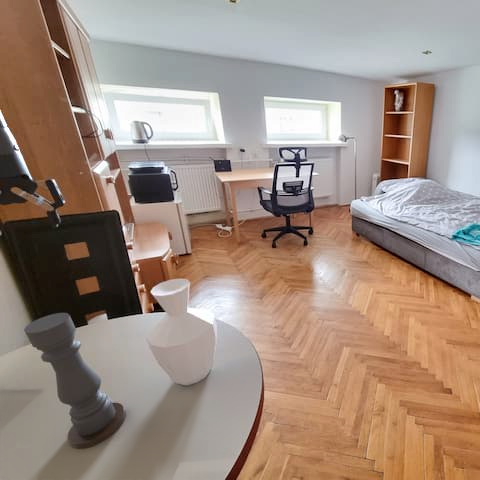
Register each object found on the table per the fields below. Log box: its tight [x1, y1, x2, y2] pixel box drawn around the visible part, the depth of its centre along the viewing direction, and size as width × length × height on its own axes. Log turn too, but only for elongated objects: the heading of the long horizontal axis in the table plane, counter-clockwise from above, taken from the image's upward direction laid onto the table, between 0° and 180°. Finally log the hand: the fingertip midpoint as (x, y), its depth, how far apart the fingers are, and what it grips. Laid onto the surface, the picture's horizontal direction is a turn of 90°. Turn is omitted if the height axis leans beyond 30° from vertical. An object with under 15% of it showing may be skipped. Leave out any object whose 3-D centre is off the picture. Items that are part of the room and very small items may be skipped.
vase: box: [145, 278, 218, 386], centre depth 69 cm, size 14×14×25 cm
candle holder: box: [23, 312, 116, 436], centre depth 55 cm, size 6×6×25 cm
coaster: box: [67, 401, 127, 450], centre depth 60 cm, size 9×9×2 cm
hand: (27, 231), depth 61 cm, fingers open, 8 cm apart
